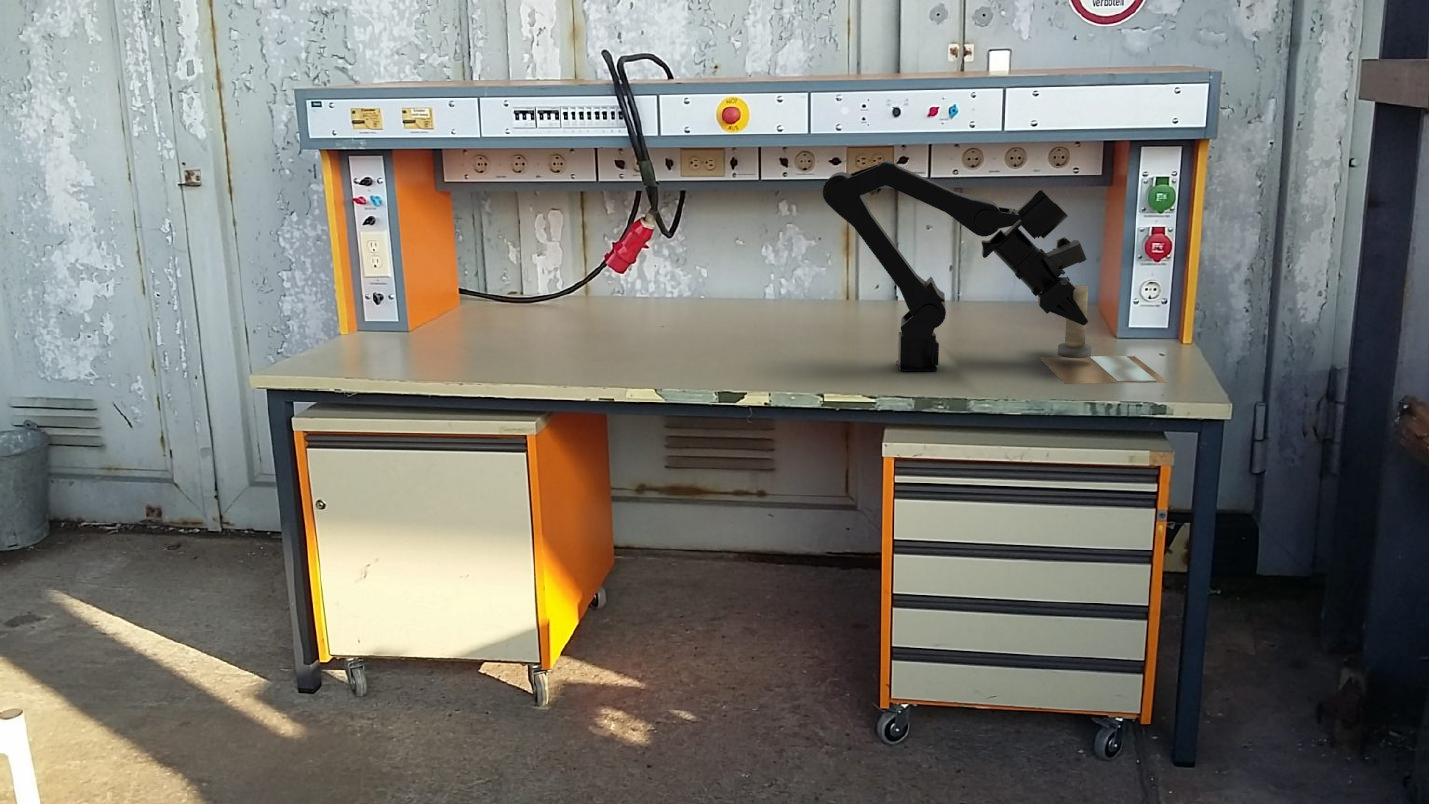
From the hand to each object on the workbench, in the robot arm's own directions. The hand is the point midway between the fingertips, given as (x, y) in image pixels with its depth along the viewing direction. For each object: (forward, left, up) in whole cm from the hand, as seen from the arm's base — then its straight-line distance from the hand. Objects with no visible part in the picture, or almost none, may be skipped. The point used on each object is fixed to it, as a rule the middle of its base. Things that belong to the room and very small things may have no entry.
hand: (1084, 321), depth 213 cm
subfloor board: (+2, -4, -9) cm, 10 cm away
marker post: (-1, 0, -6) cm, 6 cm away
